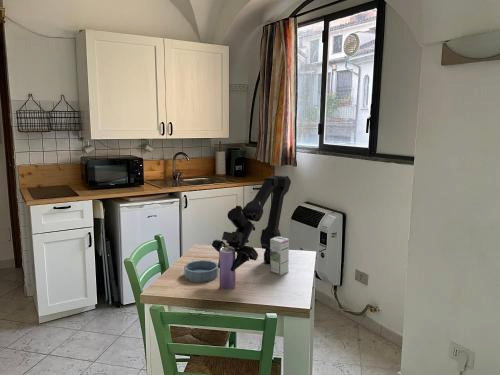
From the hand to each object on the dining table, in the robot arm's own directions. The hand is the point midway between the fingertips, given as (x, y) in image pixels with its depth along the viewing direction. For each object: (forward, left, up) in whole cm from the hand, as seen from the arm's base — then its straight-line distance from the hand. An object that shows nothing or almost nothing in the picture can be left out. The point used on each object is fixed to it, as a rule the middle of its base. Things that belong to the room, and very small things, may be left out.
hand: (225, 269), depth 152 cm
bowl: (+12, -11, -8) cm, 18 cm away
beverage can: (-1, -1, -8) cm, 8 cm away
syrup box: (-19, -20, -8) cm, 29 cm away
